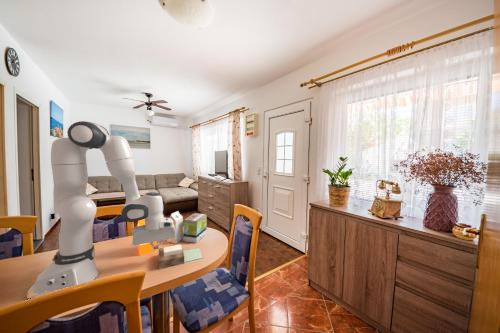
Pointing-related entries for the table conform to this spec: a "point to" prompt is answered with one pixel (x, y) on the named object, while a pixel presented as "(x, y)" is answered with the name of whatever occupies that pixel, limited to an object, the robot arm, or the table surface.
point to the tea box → (194, 227)
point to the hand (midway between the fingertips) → (155, 248)
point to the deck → (170, 259)
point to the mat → (192, 254)
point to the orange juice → (146, 247)
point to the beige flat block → (172, 250)
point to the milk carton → (177, 227)
